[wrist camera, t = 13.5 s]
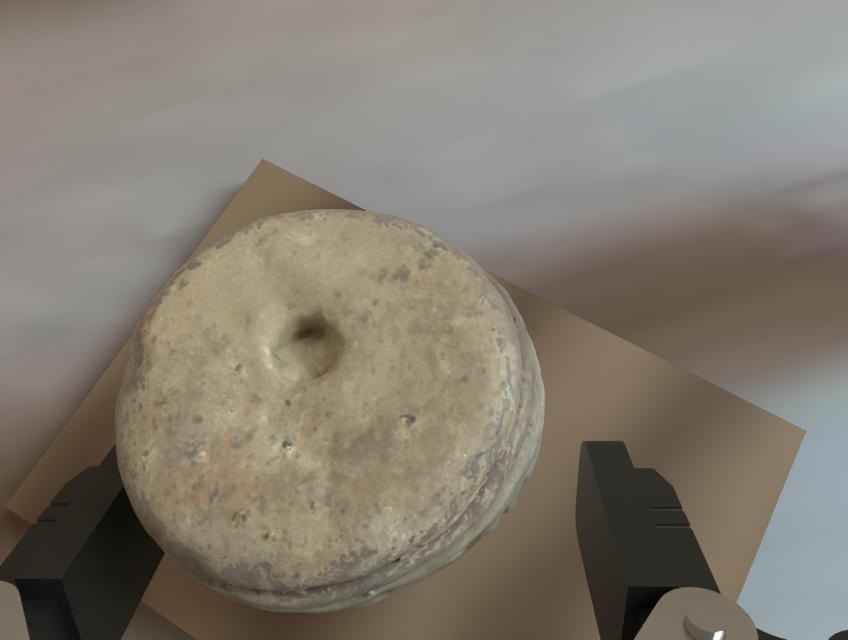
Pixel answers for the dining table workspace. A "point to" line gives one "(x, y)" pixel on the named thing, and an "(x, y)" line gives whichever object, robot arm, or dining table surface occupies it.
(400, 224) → the carving
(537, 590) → the walnut board
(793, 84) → the dining table surface
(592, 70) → the dining table surface
